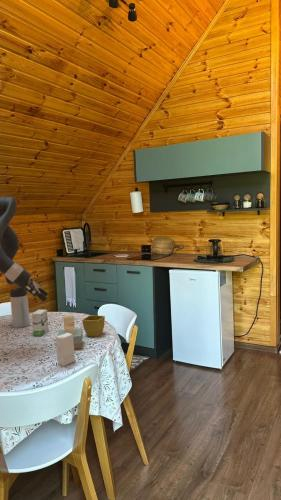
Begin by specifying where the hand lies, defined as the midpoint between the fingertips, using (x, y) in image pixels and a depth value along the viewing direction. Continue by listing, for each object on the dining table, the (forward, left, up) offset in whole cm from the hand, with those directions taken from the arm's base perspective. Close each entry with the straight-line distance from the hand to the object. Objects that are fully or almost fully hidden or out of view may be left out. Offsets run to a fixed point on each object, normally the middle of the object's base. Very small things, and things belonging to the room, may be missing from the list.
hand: (46, 297), depth 173 cm
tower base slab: (0, +9, -25) cm, 26 cm away
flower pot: (-12, +21, -24) cm, 35 cm away
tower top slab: (0, +9, -21) cm, 23 cm away
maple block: (0, +9, -18) cm, 20 cm away
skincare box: (+19, +7, -24) cm, 32 cm away
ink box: (-24, -6, -24) cm, 35 cm away
